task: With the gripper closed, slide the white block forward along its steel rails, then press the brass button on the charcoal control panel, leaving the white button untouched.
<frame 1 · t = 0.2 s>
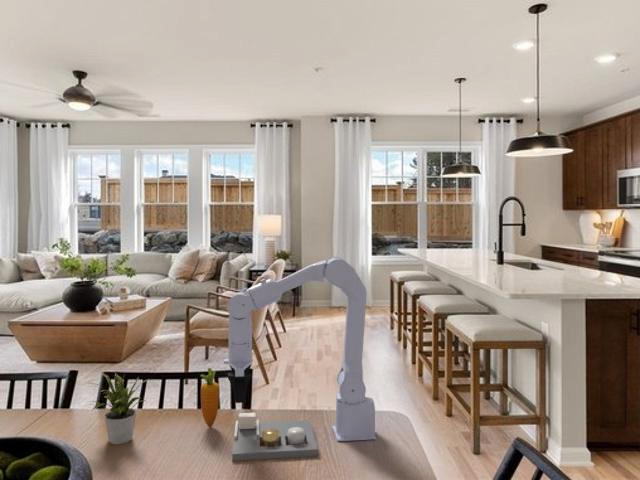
hand: (240, 396, 115), 10 cm above the table, tool pointing down, fingers open, 7 cm apart
white block: (247, 420, 116), point 3 cm above the table, slide at 0.0 cm
carrot: (210, 428, 120), on the table
control panel: (274, 441, 112), on the table
white button: (296, 436, 109), point 2 cm above the table, slide at 0.0 cm
brass button: (270, 437, 109), point 2 cm above the table, slide at 0.0 cm
house plant: (115, 439, 113), on the table
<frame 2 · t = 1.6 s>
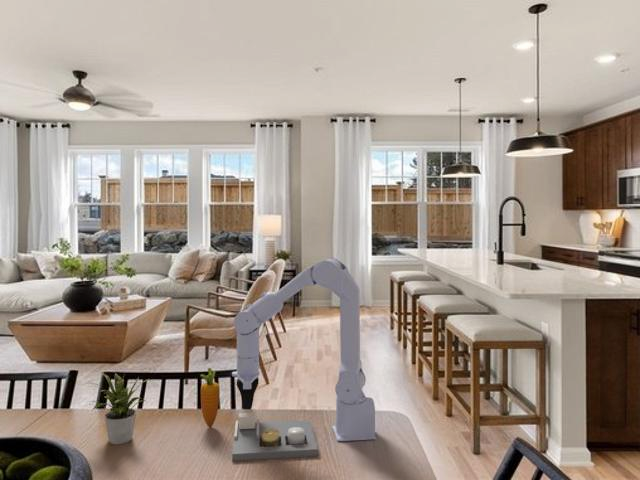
hand: (247, 407, 122), 4 cm above the table, tool pointing down, fingers closed
nothing on the table moved.
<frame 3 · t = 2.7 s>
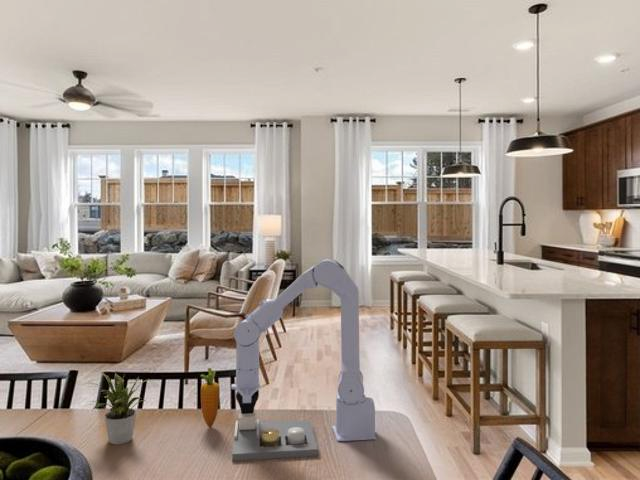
hand: (247, 420, 118), 2 cm above the table, tool pointing down, fingers closed
white block: (247, 421, 115), point 3 cm above the table, slide at 0.4 cm, touching gripper
everything else where it was.
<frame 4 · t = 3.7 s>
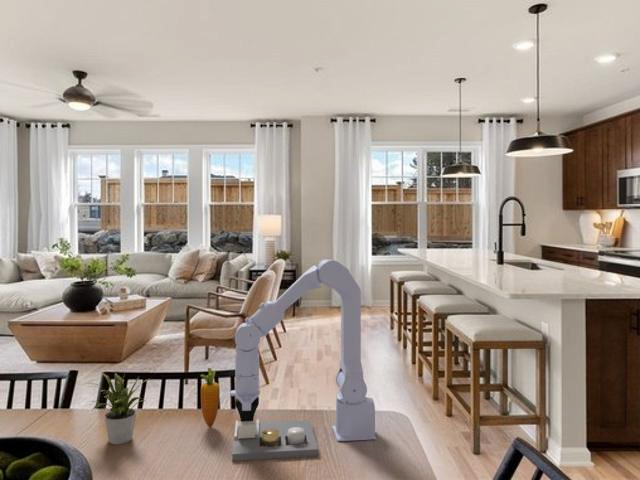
hand: (247, 428, 113), 2 cm above the table, tool pointing down, fingers closed
white block: (246, 429, 111), point 3 cm above the table, slide at 5.0 cm, touching gripper
everything else where it was.
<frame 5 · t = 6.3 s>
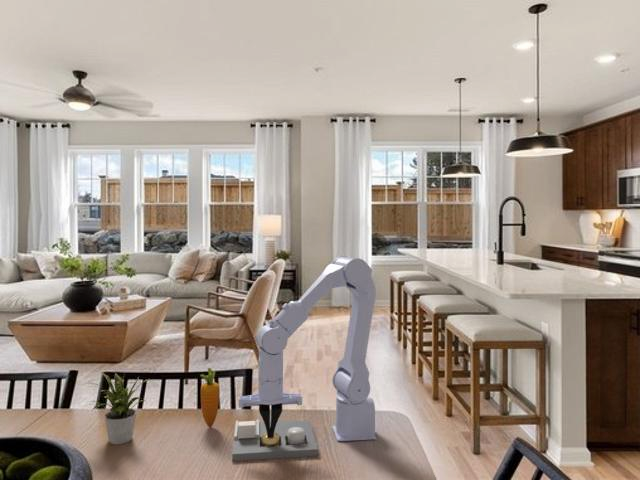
hand: (270, 435, 109), 3 cm above the table, tool pointing down, fingers closed, pressing on brass button
white block: (246, 429, 111), point 3 cm above the table, slide at 5.0 cm
brass button: (270, 440, 109), point 2 cm above the table, slide at 0.8 cm, touching gripper
everything else where it was.
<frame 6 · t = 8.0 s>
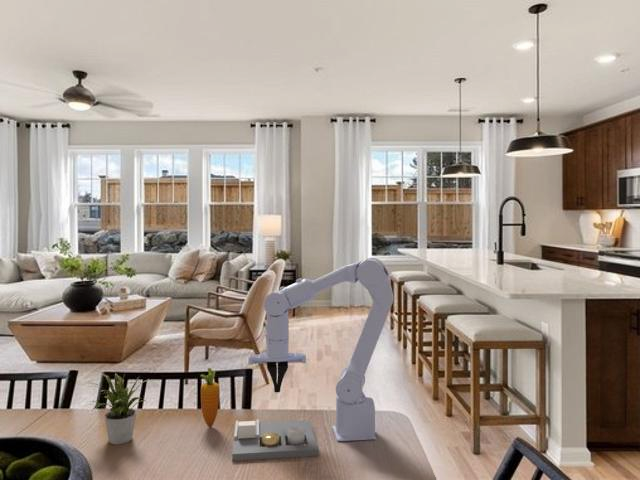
hand: (277, 391, 120), 9 cm above the table, tool pointing down, fingers closed
brass button: (270, 441, 109), point 2 cm above the table, slide at 0.9 cm
everything else where it was.
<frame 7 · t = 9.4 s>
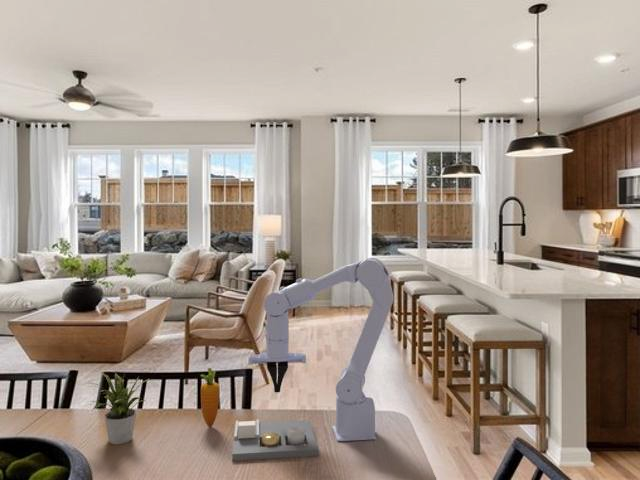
hand: (277, 391, 120), 9 cm above the table, tool pointing down, fingers closed
nothing on the table moved.
at the end: white block slide at 5.0 cm; brass button slide at 0.9 cm; white button slide at 0.0 cm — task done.
